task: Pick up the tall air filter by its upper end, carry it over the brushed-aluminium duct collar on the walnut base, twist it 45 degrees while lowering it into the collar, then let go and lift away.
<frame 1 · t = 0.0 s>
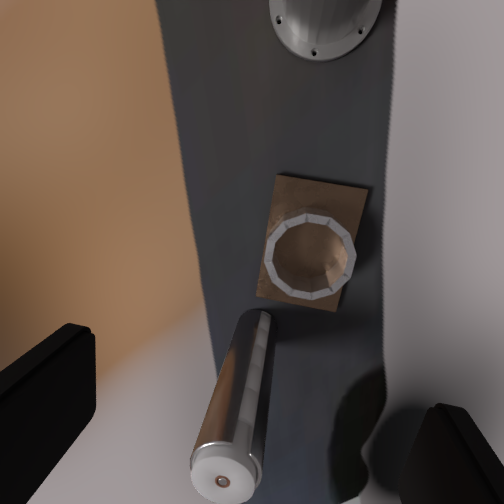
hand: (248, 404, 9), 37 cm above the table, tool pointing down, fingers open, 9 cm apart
duct collar: (307, 244, 45), on the table
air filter: (257, 326, 50), on the table
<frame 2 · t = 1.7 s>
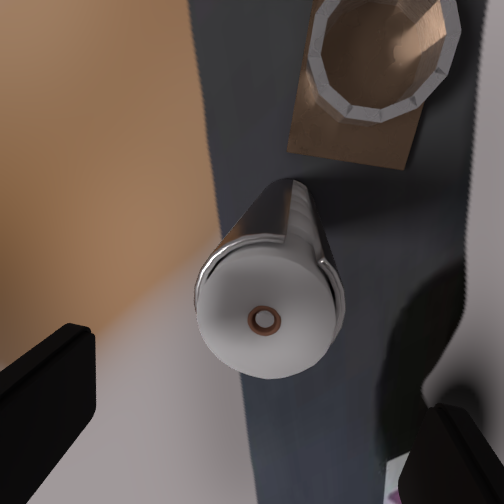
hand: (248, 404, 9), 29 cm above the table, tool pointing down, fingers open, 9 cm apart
duct collar: (364, 65, 30), on the table
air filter: (286, 207, 36), on the table
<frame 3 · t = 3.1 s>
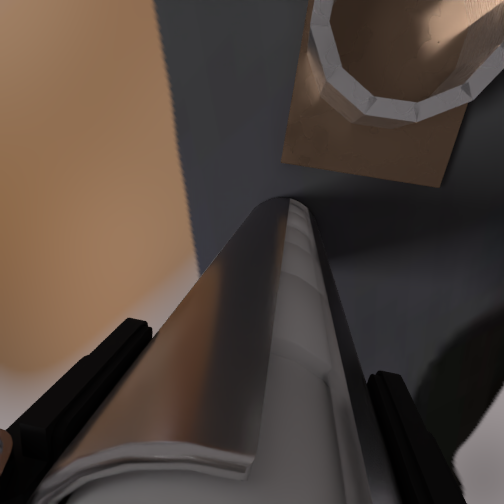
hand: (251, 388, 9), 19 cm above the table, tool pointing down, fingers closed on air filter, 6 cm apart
duct collar: (386, 46, 22), on the table
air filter: (280, 233, 28), on the table, touching gripper
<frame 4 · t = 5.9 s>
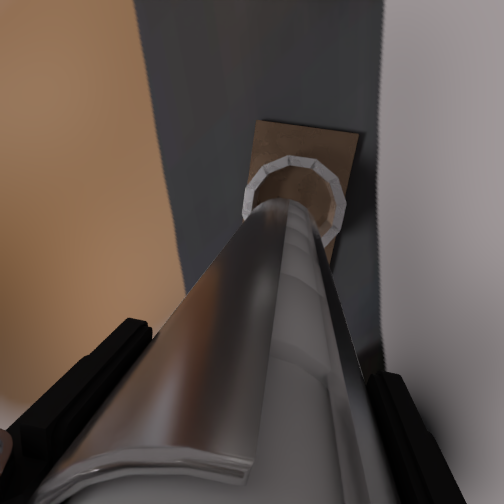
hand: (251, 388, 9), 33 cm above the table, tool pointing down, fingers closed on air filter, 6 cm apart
duct collar: (293, 202, 40), on the table
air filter: (280, 233, 28), point 14 cm above the table, touching gripper
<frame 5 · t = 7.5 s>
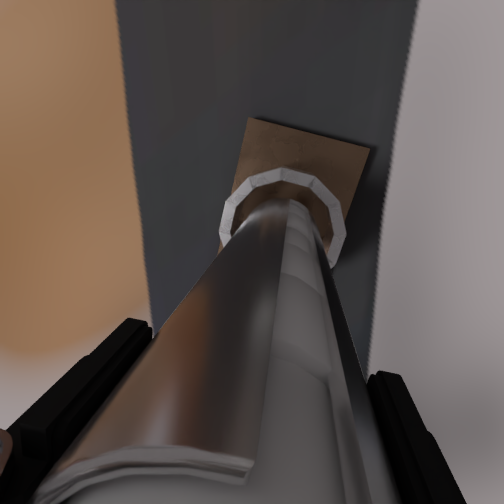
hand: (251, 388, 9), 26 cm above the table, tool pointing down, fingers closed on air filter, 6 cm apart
duct collar: (283, 219, 34), on the table
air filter: (280, 233, 28), point 7 cm above the table, touching gripper
when the fingers open (22 cm above the table, at t = 8.8 s): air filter drops 1 cm, resting on duct collar.
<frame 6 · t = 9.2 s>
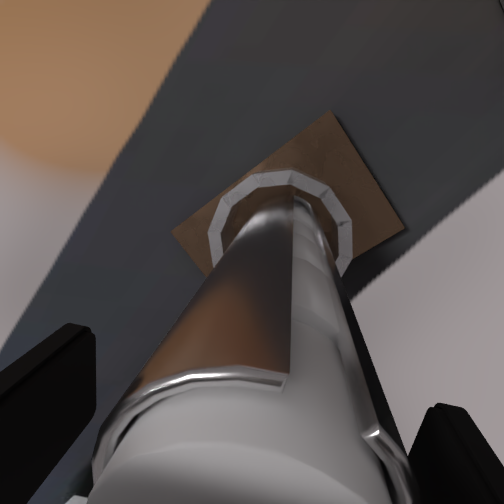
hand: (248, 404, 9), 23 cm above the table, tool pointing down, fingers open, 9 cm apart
duct collar: (282, 226, 30), on the table
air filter: (284, 228, 29), point 1 cm above the table, touching duct collar
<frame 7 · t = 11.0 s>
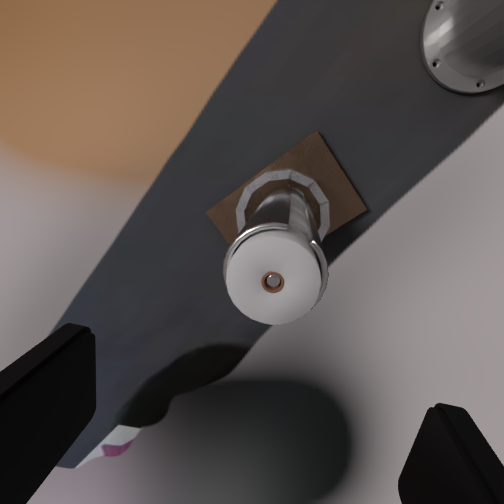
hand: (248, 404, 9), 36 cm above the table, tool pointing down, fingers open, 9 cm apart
duct collar: (283, 209, 43), on the table
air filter: (285, 210, 42), point 1 cm above the table, touching duct collar
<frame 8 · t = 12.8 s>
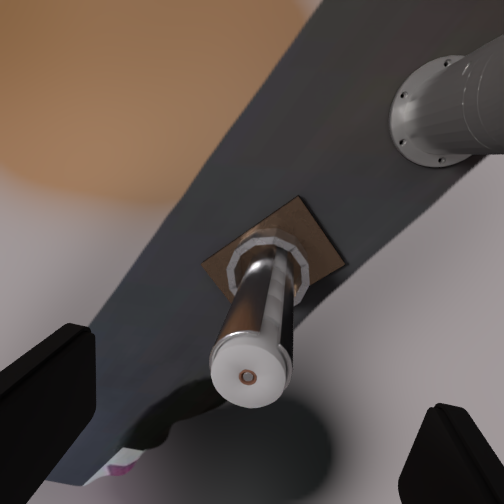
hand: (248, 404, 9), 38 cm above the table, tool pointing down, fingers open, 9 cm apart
duct collar: (271, 261, 48), on the table
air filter: (272, 263, 46), point 1 cm above the table, touching duct collar
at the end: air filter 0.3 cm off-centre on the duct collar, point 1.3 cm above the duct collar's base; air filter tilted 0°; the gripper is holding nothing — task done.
